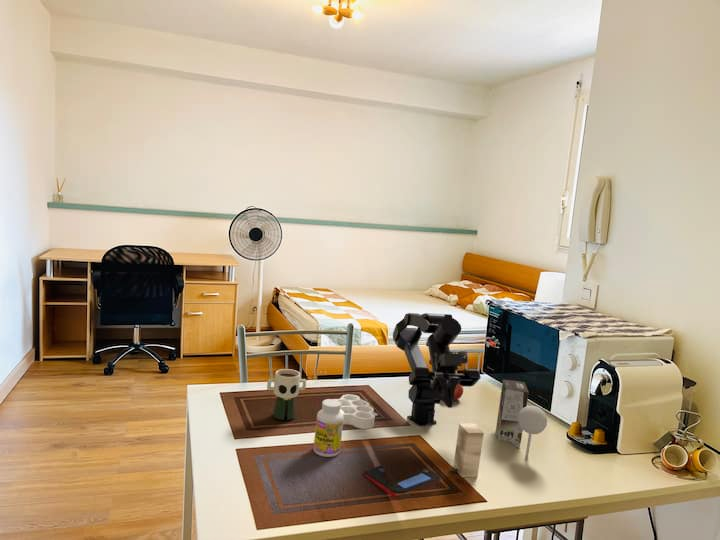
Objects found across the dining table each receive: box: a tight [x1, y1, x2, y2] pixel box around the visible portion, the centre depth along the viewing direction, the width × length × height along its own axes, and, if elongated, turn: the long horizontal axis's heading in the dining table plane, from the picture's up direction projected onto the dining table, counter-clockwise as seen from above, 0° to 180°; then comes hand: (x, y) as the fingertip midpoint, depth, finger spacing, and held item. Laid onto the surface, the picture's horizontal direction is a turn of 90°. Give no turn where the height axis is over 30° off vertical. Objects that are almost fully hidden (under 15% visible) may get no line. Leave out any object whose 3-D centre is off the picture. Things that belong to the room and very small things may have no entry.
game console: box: [362, 465, 441, 499], centre depth 119 cm, size 14×13×2 cm
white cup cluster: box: [333, 393, 379, 430], centre depth 151 cm, size 3×18×15 cm
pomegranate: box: [453, 384, 464, 401], centre depth 173 cm, size 7×7×10 cm
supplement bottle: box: [313, 398, 344, 458], centre depth 127 cm, size 7×7×13 cm
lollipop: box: [518, 405, 548, 460], centre depth 133 cm, size 7×7×15 cm
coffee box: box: [495, 379, 530, 448], centre depth 145 cm, size 9×6×16 cm
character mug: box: [266, 368, 307, 421], centre depth 144 cm, size 11×7×13 cm, turn 106°
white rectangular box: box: [449, 422, 485, 478], centre depth 121 cm, size 5×6×11 cm
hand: (450, 407), depth 133 cm, fingers closed
